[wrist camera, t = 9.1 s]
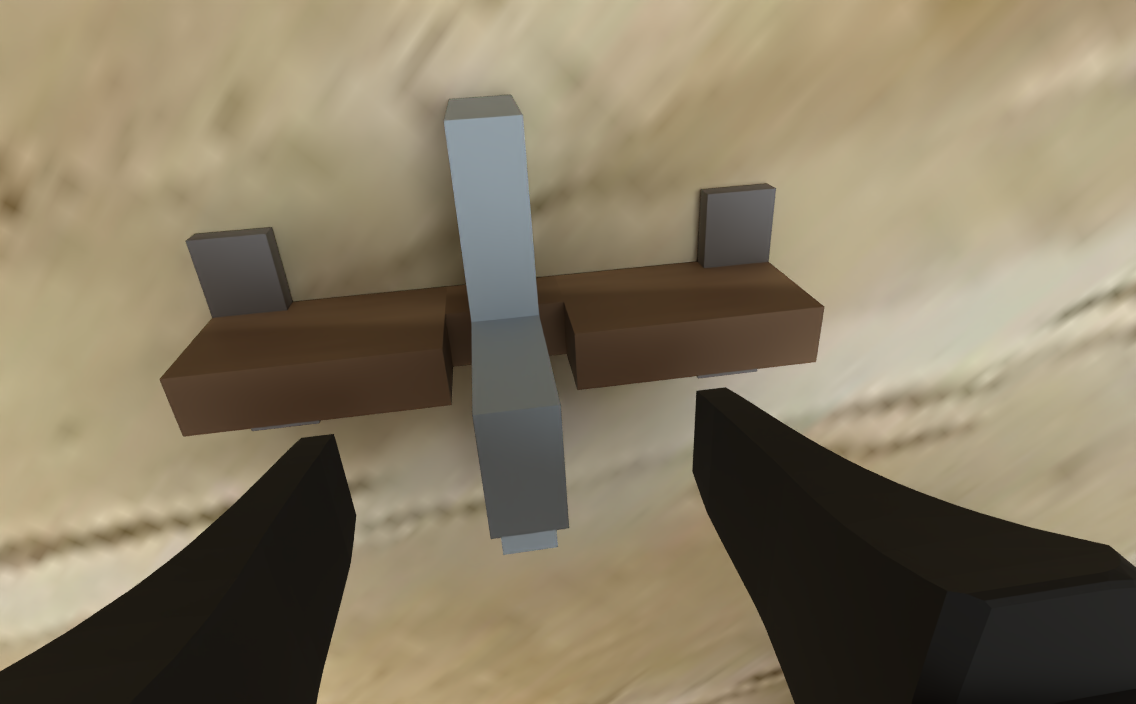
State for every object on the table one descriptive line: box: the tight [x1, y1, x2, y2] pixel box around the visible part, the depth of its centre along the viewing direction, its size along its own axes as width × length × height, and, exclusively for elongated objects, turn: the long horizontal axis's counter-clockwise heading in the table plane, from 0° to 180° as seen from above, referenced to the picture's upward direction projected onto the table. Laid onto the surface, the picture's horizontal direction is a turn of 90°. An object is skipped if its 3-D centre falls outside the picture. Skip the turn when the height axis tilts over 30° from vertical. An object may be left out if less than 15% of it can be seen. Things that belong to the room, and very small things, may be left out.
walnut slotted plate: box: [160, 184, 824, 437], centre depth 17 cm, size 6×16×4 cm, turn 93°
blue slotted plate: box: [444, 95, 569, 555], centre depth 16 cm, size 12×2×8 cm, turn 3°
